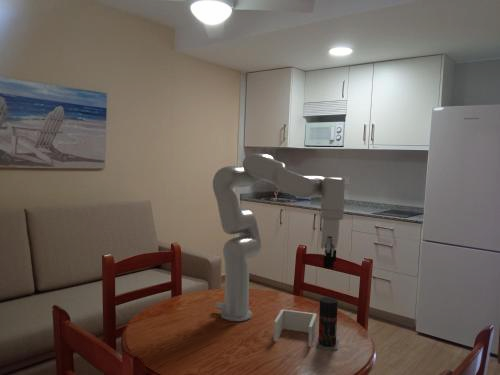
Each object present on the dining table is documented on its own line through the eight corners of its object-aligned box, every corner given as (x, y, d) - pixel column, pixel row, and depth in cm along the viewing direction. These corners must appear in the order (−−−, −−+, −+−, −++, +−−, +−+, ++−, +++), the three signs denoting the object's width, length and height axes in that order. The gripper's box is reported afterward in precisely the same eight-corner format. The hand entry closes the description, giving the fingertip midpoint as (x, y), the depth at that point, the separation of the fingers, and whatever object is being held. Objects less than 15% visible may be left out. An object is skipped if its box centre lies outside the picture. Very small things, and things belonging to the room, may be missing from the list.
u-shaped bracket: (273, 341, 135) (274, 321, 135) (281, 327, 147) (281, 309, 146) (311, 347, 131) (311, 326, 131) (316, 332, 143) (316, 313, 142)
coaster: (316, 347, 131) (316, 345, 131) (318, 338, 138) (318, 337, 138) (337, 350, 129) (337, 349, 129) (338, 341, 136) (338, 340, 136)
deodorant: (336, 347, 130) (337, 303, 129) (318, 345, 132) (319, 302, 131) (335, 340, 136) (337, 297, 135) (318, 338, 137) (320, 296, 136)
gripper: (323, 210, 140) (321, 257, 141) (317, 216, 124) (315, 270, 125) (344, 211, 138) (342, 259, 139) (341, 218, 121) (339, 272, 123)
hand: (329, 264), depth 132 cm, fingers open, 9 cm apart
